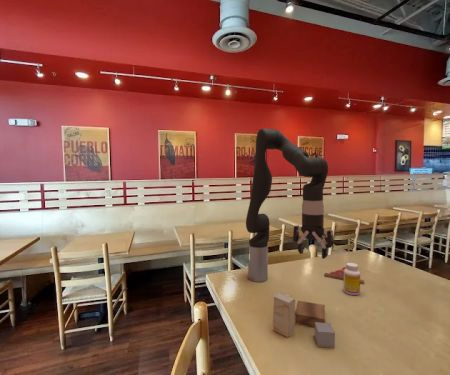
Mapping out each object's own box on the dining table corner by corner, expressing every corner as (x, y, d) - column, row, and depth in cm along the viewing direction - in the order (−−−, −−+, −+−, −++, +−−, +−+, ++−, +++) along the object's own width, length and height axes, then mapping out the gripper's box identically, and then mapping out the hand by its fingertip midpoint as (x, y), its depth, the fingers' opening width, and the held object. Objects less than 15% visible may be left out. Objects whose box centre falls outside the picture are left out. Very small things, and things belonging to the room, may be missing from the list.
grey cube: (318, 346, 81) (318, 331, 80) (314, 336, 86) (314, 322, 85) (334, 348, 80) (334, 332, 80) (330, 337, 85) (330, 323, 85)
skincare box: (272, 330, 89) (272, 296, 88) (279, 324, 92) (279, 291, 92) (288, 338, 85) (288, 302, 84) (295, 332, 88) (295, 297, 87)
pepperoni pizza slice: (323, 273, 133) (331, 261, 150) (323, 277, 133) (330, 265, 150) (364, 281, 123) (367, 268, 140) (364, 286, 123) (366, 272, 140)
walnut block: (295, 324, 93) (295, 313, 93) (297, 310, 102) (297, 300, 102) (324, 330, 89) (324, 319, 89) (324, 314, 99) (324, 304, 98)
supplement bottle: (361, 296, 112) (362, 267, 111) (345, 295, 113) (346, 266, 112) (357, 289, 118) (357, 262, 118) (341, 288, 120) (342, 261, 119)
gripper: (290, 211, 96) (289, 254, 97) (329, 215, 86) (328, 262, 87) (298, 209, 101) (298, 249, 102) (336, 212, 92) (335, 257, 93)
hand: (312, 255), depth 95 cm, fingers open, 8 cm apart
